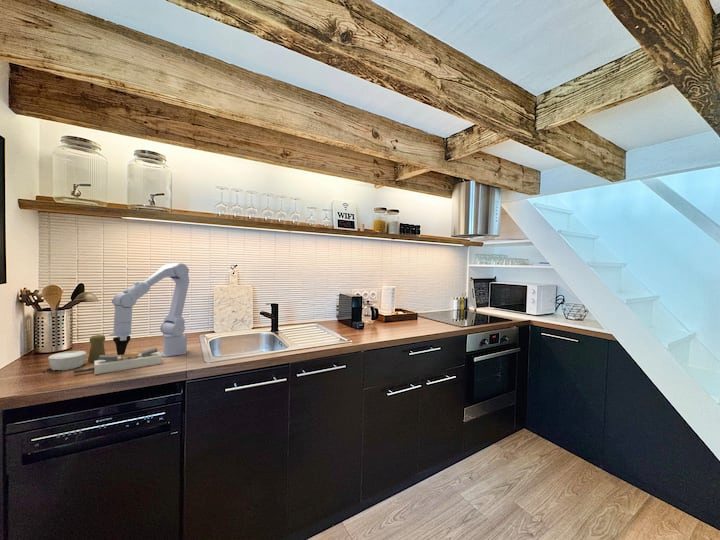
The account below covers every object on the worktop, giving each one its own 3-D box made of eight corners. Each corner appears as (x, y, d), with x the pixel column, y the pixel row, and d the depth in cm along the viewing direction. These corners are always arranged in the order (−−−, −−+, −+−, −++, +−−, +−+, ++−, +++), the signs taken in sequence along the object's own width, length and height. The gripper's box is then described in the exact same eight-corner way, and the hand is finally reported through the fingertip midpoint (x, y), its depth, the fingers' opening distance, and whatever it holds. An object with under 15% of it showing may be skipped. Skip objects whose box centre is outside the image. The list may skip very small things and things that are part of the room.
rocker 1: (116, 358, 122) (117, 355, 122) (116, 360, 120) (117, 357, 120) (98, 358, 118) (99, 355, 119) (99, 360, 116) (100, 356, 116)
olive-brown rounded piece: (104, 357, 134) (105, 333, 134) (107, 360, 130) (108, 335, 130) (86, 360, 129) (87, 335, 129) (88, 363, 125) (89, 337, 125)
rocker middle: (137, 354, 127) (137, 351, 127) (138, 356, 125) (138, 353, 125) (120, 356, 123) (121, 353, 123) (121, 358, 121) (121, 355, 121)
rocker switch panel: (159, 359, 134) (159, 350, 134) (161, 363, 129) (162, 353, 129) (74, 372, 115) (74, 361, 115) (73, 377, 110) (73, 366, 110)
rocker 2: (156, 350, 132) (156, 347, 131) (157, 351, 129) (157, 349, 129) (141, 354, 128) (140, 352, 128) (142, 356, 126) (141, 354, 125)
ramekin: (83, 360, 129) (84, 348, 128) (88, 367, 121) (88, 354, 121) (46, 367, 120) (46, 354, 120) (49, 374, 113) (49, 360, 113)
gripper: (109, 319, 125) (107, 351, 124) (111, 325, 114) (108, 360, 114) (130, 318, 129) (128, 349, 129) (133, 324, 119) (131, 357, 119)
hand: (120, 354), depth 122 cm, fingers closed, pressing on rocker middle
